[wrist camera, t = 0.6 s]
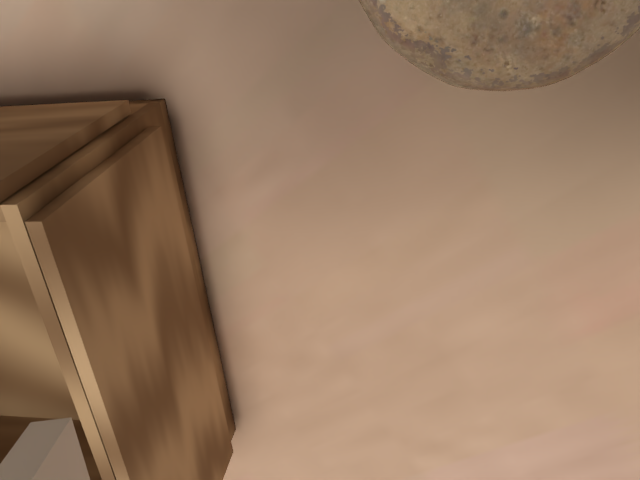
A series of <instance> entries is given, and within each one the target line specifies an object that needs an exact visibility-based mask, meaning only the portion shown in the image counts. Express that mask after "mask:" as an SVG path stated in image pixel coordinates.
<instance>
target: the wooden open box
mask: <svg viewBox="0 0 640 480" xmlns="http://www.w3.org/2000/svg"><path fill="white" fill-rule="evenodd" d="M70 417H71V418H72V421H73V424H74V428H75V431H76V434H77V438H78V441H79V444H80V448H81V451H82V454H83V457H84V461H85V464H86V467H87V471H88V474H89V477H90V480H223V477H224V475H225V472H226V469H227V467H228V464H229V461H230V459H231V456H232V453H233V449H232V444H231V440H232V437H233V435H234V432H235V429H236V428H235V423H234V419H233V414H232V409H231V405H230V400H229V396H228V391H227V386H226V382H225V377H224V372H223V368H222V363H221V358H220V354H219V349H218V344H217V340H216V335H215V330H214V326H213V321H212V316H211V312H210V307H209V302H208V298H207V293H206V288H205V284H204V279H203V274H202V270H201V265H200V260H199V256H198V251H197V247H196V242H195V237H194V233H193V228H192V223H191V219H190V214H189V209H188V205H187V200H186V195H185V191H184V186H183V181H182V177H181V172H180V167H179V163H178V158H177V153H176V149H175V144H174V139H173V135H172V130H171V125H170V121H169V116H168V111H167V107H166V102H165V99H156V100H137V101H128V100H118V101H98V102H79V103H59V104H40V105H21V106H1V107H0V464H1V462H2V461H3V459H4V458H5V457H6V455H7V454H8V453H9V451H10V450H11V449H12V447H13V446H14V444H15V443H16V442H17V440H18V439H19V438H20V436H21V435H22V433H23V432H24V431H25V429H26V428H27V427H28V425H29V424H30V423H31V422H38V421H46V420H54V419H62V418H70Z"/></svg>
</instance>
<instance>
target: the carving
mask: <svg viewBox="0 0 640 480" xmlns="http://www.w3.org/2000/svg"><path fill="white" fill-rule="evenodd" d="M359 1H360V3H361V5H362V7H363V9H364V10H365V12H366V14H367V15H368V17H369V19H370V21H371V22H372V24H373V25H374V27H375V28H376V30H377V32H378V33H379V34H380V36H381V37H382V38H383V39H384V40H385V42H386V43H387V44H388V45H389V46H390V47H392V48H393V49H394V50H395V51H396V52H398V53H399V54H400V55H401V56H403V57H404V58H405V59H407V60H408V61H409V62H411V63H412V64H413V65H415V66H417V67H418V68H420V69H421V70H423V71H425V72H426V73H428V74H430V75H432V76H434V77H435V78H437V79H439V80H441V81H443V82H445V83H448V84H450V85H453V86H456V87H461V88H466V89H474V90H489V91H506V90H520V89H532V88H537V87H542V86H547V85H550V84H553V83H556V82H559V81H561V80H564V79H566V78H568V77H570V76H572V75H574V74H577V73H578V72H580V71H582V70H583V69H585V68H587V67H589V66H591V65H592V64H594V63H596V62H597V61H599V60H601V59H602V58H604V57H605V56H607V55H608V54H610V53H611V52H613V51H614V50H615V49H617V48H618V47H619V46H620V45H622V44H623V43H624V42H625V41H626V40H627V39H628V38H630V37H631V36H632V35H633V34H634V33H635V32H636V31H637V30H638V29H639V28H640V0H359Z"/></svg>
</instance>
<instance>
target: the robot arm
mask: <svg viewBox="0 0 640 480" xmlns="http://www.w3.org/2000/svg"><path fill="white" fill-rule="evenodd" d="M0 480H90V477H89V474H88V471H87V467H86V464H85V461H84V457H83V454H82V451H81V448H80V444H79V441H78V438H77V434H76V431H75V428H74V424H73V421H72V418H71V417H70V418H62V419H54V420H46V421H38V422H31V423H30V424H29V425H28V427H27V428H26V429H25V431H24V432H23V433H22V435H21V436H20V438H19V439H18V440H17V442H16V443H15V444H14V446H13V447H12V449H11V450H10V451H9V453H8V454H7V455H6V457H5V458H4V459H3V461H2V462H1V464H0Z"/></svg>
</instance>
